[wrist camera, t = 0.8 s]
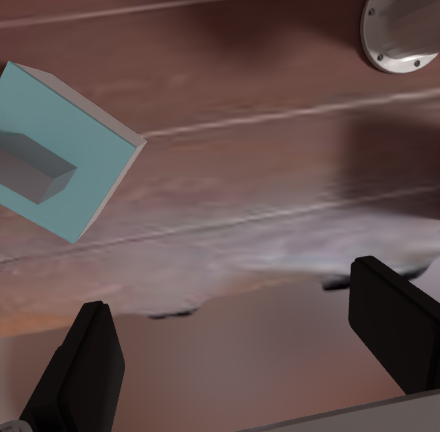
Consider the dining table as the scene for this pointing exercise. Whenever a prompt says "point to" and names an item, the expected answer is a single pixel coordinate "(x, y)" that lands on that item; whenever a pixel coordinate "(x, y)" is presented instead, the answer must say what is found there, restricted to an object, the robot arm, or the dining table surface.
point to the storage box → (97, 114)
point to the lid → (54, 155)
